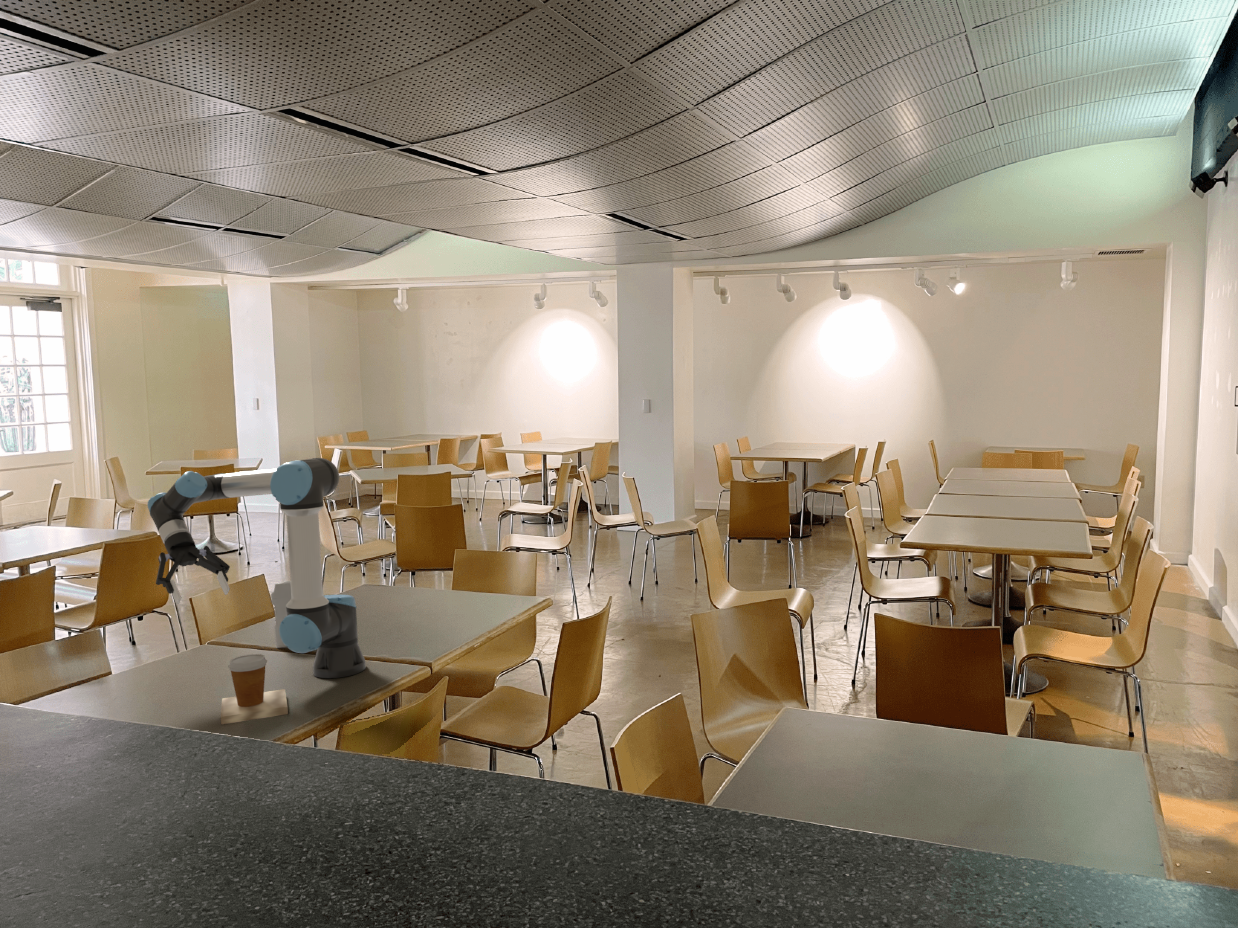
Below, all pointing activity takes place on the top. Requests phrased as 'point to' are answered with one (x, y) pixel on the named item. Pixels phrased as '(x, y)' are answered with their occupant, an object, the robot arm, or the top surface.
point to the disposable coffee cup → (248, 679)
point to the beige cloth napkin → (254, 708)
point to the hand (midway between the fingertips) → (203, 596)
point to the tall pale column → (280, 607)
